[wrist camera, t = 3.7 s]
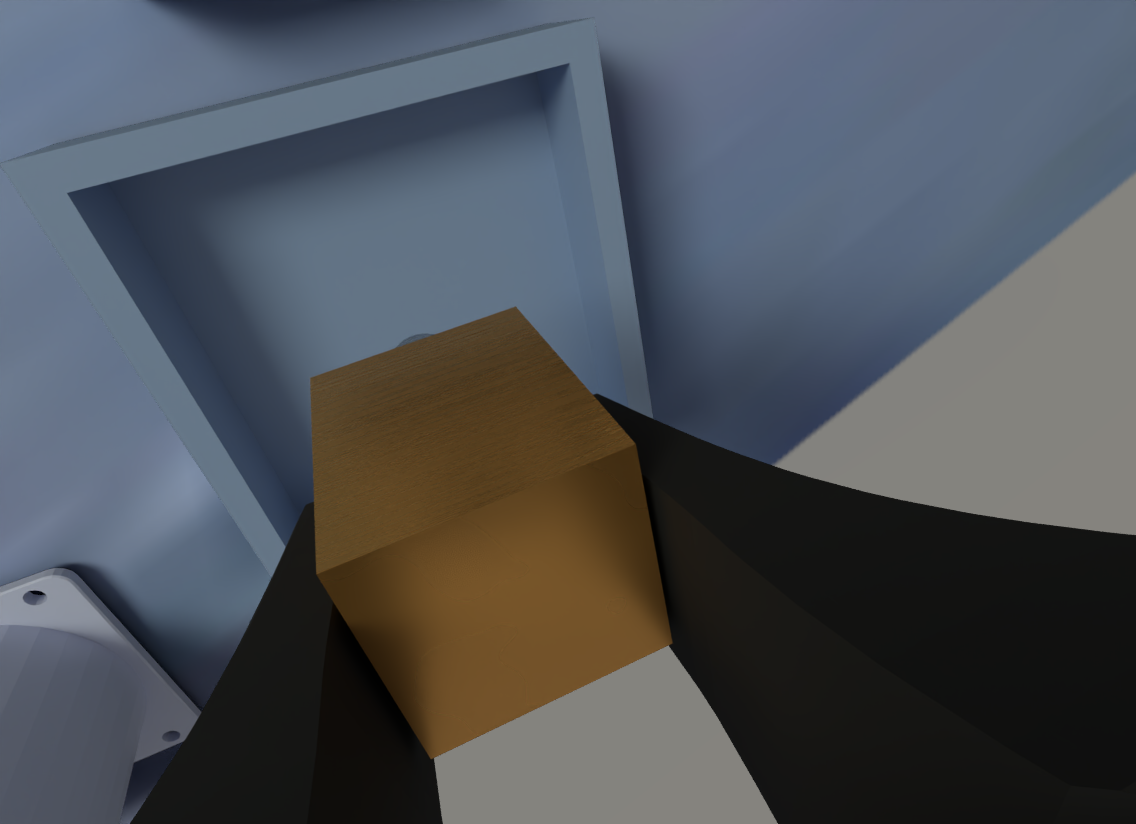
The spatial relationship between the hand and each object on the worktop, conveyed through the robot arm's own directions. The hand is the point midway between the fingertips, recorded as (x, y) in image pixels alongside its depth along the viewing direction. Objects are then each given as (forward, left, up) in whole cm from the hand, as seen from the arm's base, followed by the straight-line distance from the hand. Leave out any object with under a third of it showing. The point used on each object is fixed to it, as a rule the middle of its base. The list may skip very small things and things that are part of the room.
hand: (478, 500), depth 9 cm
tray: (0, 0, -10) cm, 10 cm away
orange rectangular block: (0, +1, -4) cm, 4 cm away
